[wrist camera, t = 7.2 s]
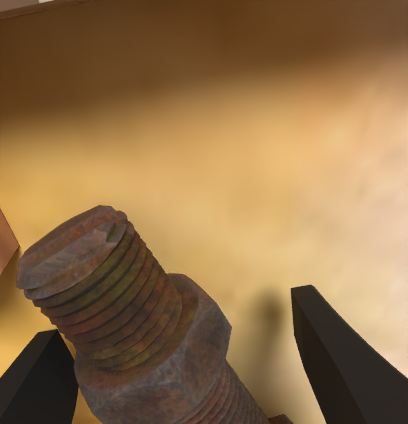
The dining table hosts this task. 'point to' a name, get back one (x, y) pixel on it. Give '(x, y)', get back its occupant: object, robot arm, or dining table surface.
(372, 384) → the robot arm
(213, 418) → the bolt
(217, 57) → the dining table surface
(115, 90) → the dining table surface
